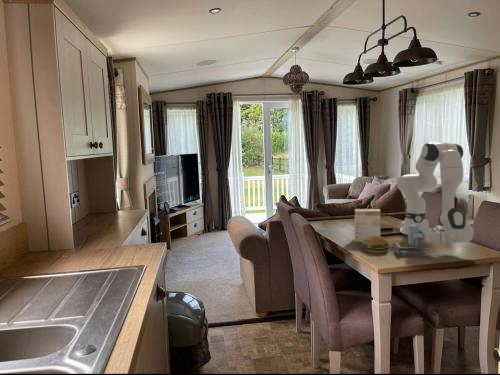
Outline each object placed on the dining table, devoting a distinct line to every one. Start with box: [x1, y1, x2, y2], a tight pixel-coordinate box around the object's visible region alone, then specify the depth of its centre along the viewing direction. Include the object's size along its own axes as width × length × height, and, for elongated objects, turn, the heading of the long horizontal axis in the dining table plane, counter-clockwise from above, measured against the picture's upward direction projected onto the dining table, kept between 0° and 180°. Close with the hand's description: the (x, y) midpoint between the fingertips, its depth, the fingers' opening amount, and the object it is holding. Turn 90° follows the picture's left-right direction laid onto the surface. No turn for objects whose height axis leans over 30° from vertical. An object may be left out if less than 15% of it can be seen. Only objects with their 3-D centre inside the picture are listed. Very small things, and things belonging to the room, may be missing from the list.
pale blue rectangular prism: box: [407, 225, 419, 246], centre depth 207 cm, size 4×4×10 cm
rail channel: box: [394, 242, 425, 258], centre depth 208 cm, size 9×13×5 cm
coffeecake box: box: [354, 208, 381, 243], centre depth 237 cm, size 15×7×20 cm, turn 74°
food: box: [361, 235, 390, 254], centre depth 217 cm, size 14×14×8 cm
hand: (411, 233), depth 207 cm, fingers closed on pale blue rectangular prism, 4 cm apart
